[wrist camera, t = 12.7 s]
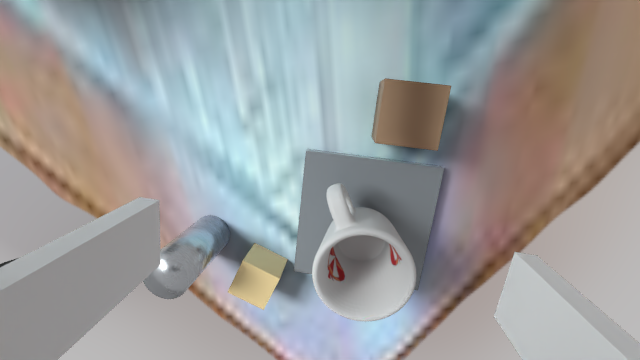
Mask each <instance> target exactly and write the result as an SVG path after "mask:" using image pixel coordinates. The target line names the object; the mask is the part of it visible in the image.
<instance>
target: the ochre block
mask: <svg viewBox="0 0 640 360" xmlns="http://www.w3.org/2000/svg"><path fill="white" fill-rule="evenodd" d="M287 260H288V259H286V258H284V257H282V256H280V255H278V254H276V253H274V252H272V251H270V250H268V249H266V248H264V247H262V246H260V245H258V244H256V243H254V245H253V246H252V248H251V249H250V251H249V252H248V254H247V255H246V256H245V258H244V259H243V261H242V263H241V265H240V267H239V269H238V272H237V274H236V276H235V278H234V280H233V282H232V284H231V286H230V288H229V290H228V293H230V294H232V295H234V296H236V297H238V298H240V299H242V300H244V301H247V302H249V303H251V304H253V305H255V306H257V307H259V308H261V309H263V310H264V308H265V306H266V304H267V302H268V300H269V298H270V297H271V295H272V293H273V291H274V289H275V287H276V285H277V283H278V281H279V280H280V277H281V275H282V272H283V270H284V267H285V265H286V262H287Z"/></svg>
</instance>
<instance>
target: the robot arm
mask: <svg viewBox="0 0 640 360" xmlns="http://www.w3.org/2000/svg"><path fill="white" fill-rule="evenodd" d="M160 265H161V259H160V211H159V200H155V199H148V198H141V197H139V198H137V199H135V200H133V201H131V202H129V203H127V204H125V205H123V206H121V207H119V208H117V209H116V210H114V211H112V212H110V213H108V214H106V215H104V216H102V217H100V218H98V219H96V220H94V221H92V222H90V223H88V224H86V225H84V226H82V227H80V228H78V229H76V230H74V231H72V232H70V233H68V234H66V235H64V236H62V237H60V238H58V239H56V240H54V241H52V242H50V243H48V244H46V245H44V246H42V247H40V248H38V249H36V250H34V251H32V252H30V253H28V254H26V255H24V256H22V257H20V258H17V259H14V260H11V261H8V262H4V263H2V264H0V360H58V359H59V358H60V357H61V356H62V355H63V354H64V353H65V352H66V351H68V350H69V349H70V348H71V347H72V346H73V345H74V344H75V343H76V342H77V341H78V340H79V339H81V338H82V337H83V336H84V335H85V334H86V333H87V332H88V331H89V330H90V329H91V328H93V326H95V325H96V324H97V323H98V322H99V321H100V320H101V319H102V318H103V317H104V316H105V315H107V314H108V313H109V312H110V311H111V310H112V309H113V308H114V307H115V306H116V305H117V304H119V303H120V302H121V301H122V300H123V299H124V298H125V297H126V296H127V295H128V294H129V293H131V292H132V291H133V290H134V289H135V288H136V287H137V286H138V285H139V284H140V283H141V282H142V281H144V280H145V279H146V278H147V277H148V276H149V275H150V274H151V273H152V272H153V271H154V270H155V269H157V268H158V267H159V266H160ZM494 317H495V319H496V321H497V322H498V324H499V325H500V327H501V328H502V330H503V331H504V333H505V334H506V336H507V338H508V339H509V341H510V342H511V344H512V345H513V347H514V348H515V350H516V351H517V353H518V354H519V356H520V357H521V359H522V360H640V344H639V342H637V341H636V340H635V339H634V338H633V337H631V336H630V335H629V334H628V333H627V332H626V331H625V330H623V329H622V328H621V327H620V326H619V325H618V324H616V323H615V322H614V321H613V320H612V319H611V318H609V317H608V316H607V315H606V314H605V313H604V312H602V311H601V310H600V309H599V308H598V307H597V306H595V305H594V304H593V303H592V302H591V301H590V300H588V299H587V298H586V297H585V296H583V294H581V293H580V292H579V291H578V290H577V289H576V288H574V287H573V286H572V285H571V284H570V283H568V282H567V281H566V280H565V279H564V278H563V277H562V276H560V275H559V274H558V273H557V272H556V271H555V270H553V269H552V268H551V267H550V266H549V265H548V264H546V263H545V262H544V261H543V260H542V259H541V258H539V257H538V256H537V255H532V254H525V253H519V252H514V255H513V259H512V262H511V265H510V268H509V271H508V274H507V277H506V280H505V283H504V286H503V290H502V293H501V296H500V299H499V302H498V305H497V308H496V311H495V314H494Z"/></svg>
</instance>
